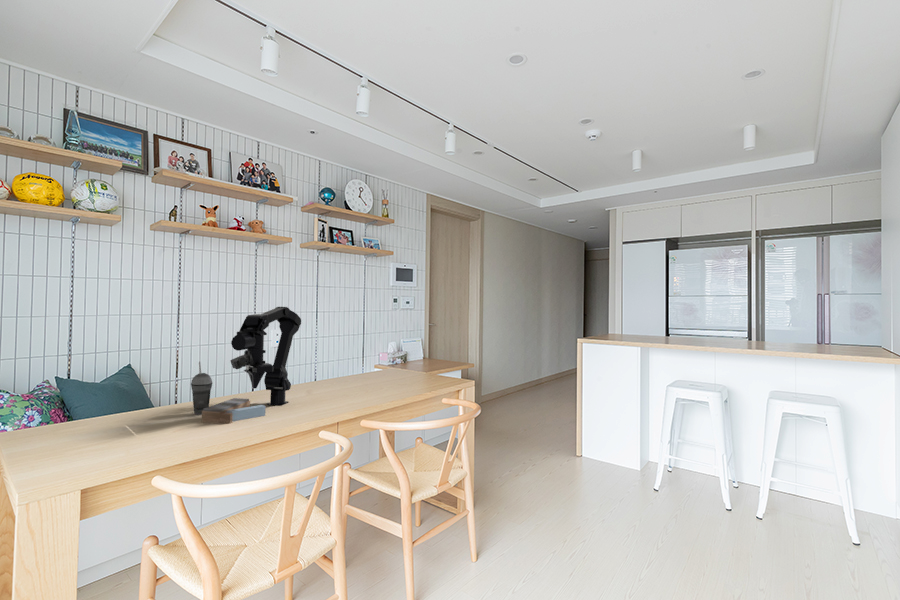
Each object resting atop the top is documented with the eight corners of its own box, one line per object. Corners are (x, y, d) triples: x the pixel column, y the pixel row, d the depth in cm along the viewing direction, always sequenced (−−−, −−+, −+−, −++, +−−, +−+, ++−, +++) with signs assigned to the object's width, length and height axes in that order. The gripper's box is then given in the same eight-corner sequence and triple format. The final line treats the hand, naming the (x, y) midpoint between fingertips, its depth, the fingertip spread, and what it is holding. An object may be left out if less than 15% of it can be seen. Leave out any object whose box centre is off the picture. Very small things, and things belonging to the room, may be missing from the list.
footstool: (233, 409, 170) (233, 397, 170) (259, 411, 168) (259, 399, 168) (201, 422, 152) (201, 408, 152) (230, 424, 150) (230, 410, 150)
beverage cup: (201, 417, 158) (203, 363, 158) (185, 415, 160) (186, 362, 160) (216, 412, 166) (217, 360, 166) (200, 410, 167) (201, 359, 167)
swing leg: (261, 413, 163) (262, 404, 163) (265, 415, 161) (265, 406, 161) (224, 420, 153) (224, 410, 153) (227, 422, 151) (227, 412, 151)
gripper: (223, 346, 164) (223, 387, 164) (243, 351, 152) (242, 395, 152) (253, 345, 172) (252, 383, 172) (274, 349, 160) (273, 390, 160)
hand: (254, 388), depth 164 cm, fingers closed
